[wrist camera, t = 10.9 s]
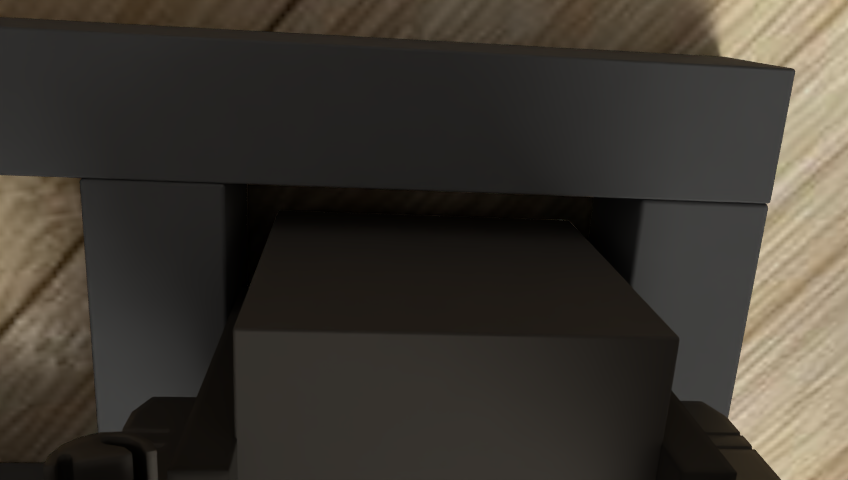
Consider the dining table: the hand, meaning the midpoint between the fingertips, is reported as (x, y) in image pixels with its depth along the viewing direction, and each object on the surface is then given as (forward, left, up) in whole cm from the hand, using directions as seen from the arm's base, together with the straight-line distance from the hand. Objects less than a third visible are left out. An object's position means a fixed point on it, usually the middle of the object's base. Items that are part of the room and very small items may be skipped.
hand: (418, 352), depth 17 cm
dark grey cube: (0, 0, 0) cm, 0 cm away
